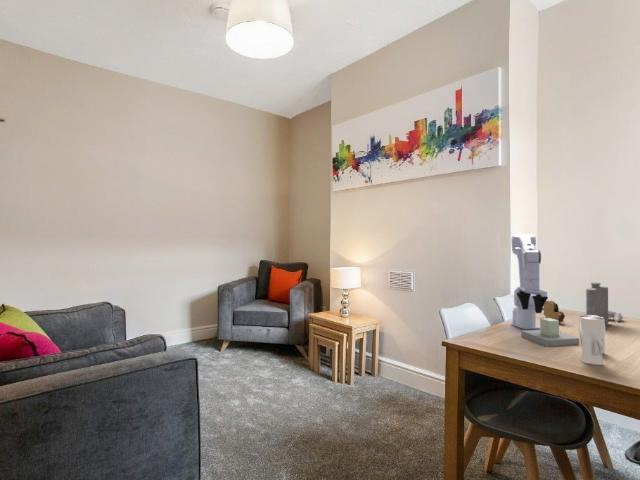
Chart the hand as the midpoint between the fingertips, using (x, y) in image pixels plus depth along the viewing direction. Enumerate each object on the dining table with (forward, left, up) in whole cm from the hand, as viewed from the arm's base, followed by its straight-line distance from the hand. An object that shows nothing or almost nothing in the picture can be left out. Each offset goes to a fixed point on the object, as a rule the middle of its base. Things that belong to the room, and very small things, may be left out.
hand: (531, 311), depth 153 cm
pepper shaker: (+24, +6, -11) cm, 27 cm away
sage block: (+7, +2, -8) cm, 11 cm away
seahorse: (-17, +52, -11) cm, 56 cm away
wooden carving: (-21, +29, -11) cm, 38 cm away
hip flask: (-9, +41, -11) cm, 44 cm away
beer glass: (+32, -4, -11) cm, 34 cm away
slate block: (+7, +2, -11) cm, 13 cm away
